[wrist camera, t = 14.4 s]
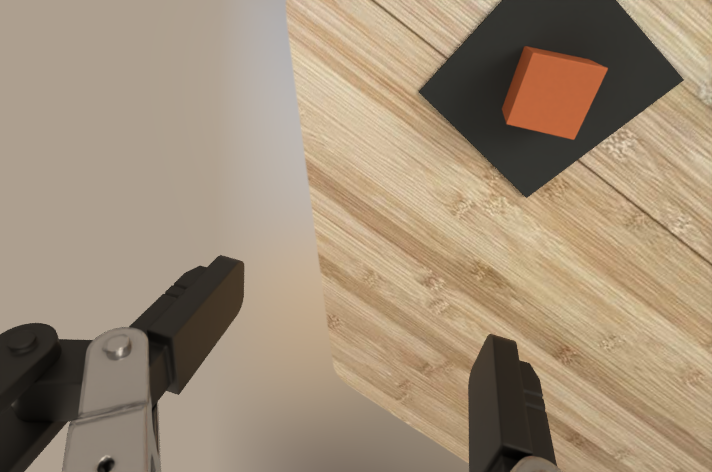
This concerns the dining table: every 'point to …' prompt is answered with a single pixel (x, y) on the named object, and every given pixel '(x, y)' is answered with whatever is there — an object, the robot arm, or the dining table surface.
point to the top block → (552, 92)
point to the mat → (561, 35)
